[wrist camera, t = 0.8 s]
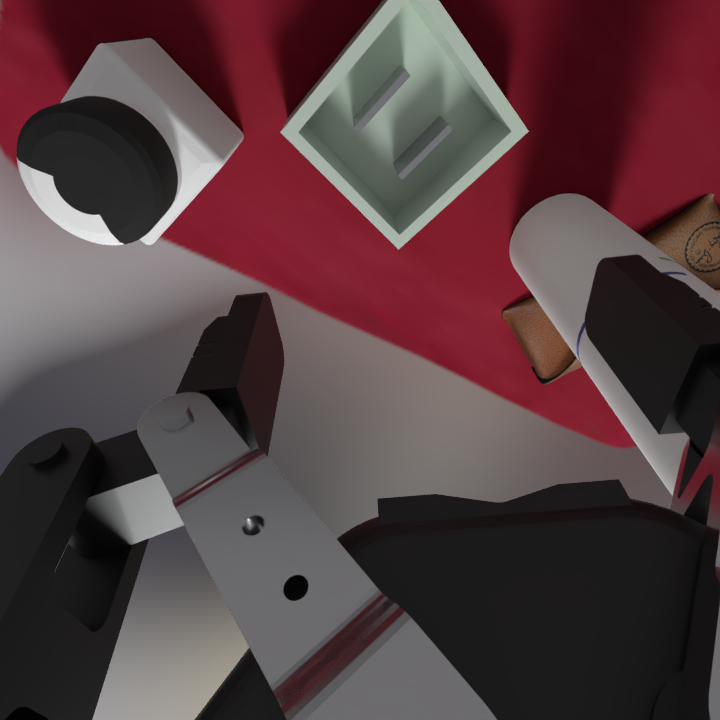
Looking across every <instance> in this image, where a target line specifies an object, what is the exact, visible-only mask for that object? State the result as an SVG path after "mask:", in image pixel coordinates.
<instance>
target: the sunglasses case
mask: <svg viewBox="0 0 720 720" xmlns="http://www.w3.org/2000/svg"><path fill="white" fill-rule="evenodd" d="M713 196H714V193H710V194H707V195H705V196H703V197H701V198H700V199H698V200H697V201H695V202H694V203H692V204H691V205H689V206H688V207H687V208H685V209H684V210H682V211H681V212H679V213H678V214H677V215H675V216H674V217H672V218H671V219H669V220H668V221H666V222H664V223H663V224H661V225H660V226H658V227H656V228H655V229H653V230H651V231H650V232H648V233H646V234H645V235H643V236H642V237H643V238H644V239H646V240H647V241H648V242H650V243H651V244H652V245H654V246H655V247H657V248H658V249H659V250H661V251H662V252H663V253H665V254H666V255H667V256H669V257H670V258H672V259H673V260H674V261H676V262H677V263H678V264H680V265H681V266H682V267H684V268H685V269H687V270H688V271H689V272H691V273H692V274H693V275H695V276H696V277H698V278H699V279H700V280H702V281H703V282H704V283H706V284H707V285H708V286H710V287H711V288H713V289H714V290H715V291H717V292H718V293H719V294H720V211H719V209H718V206H717V205H716V203H715V202H714V200H713ZM502 317H503V318H504V319H505V320H506V321H507V322H508V323H509V325H510V327H511V329H512V331H513V333H514V334H515V336H516V338H517V340H518V341H519V344H520V345H521V347H522V349H523V350H524V352H525V354H526V355H527V357H528V359H529V361H530V362H531V363H532V365H533V367H531V368H532V370H533V372H534V373H535V375H536V376H537V378H538V380H539V381H540V383H542V384H544V385H545V384H549V383H551V382H553V381H555V380H556V379H558V378H560V377H561V376H563V375H565V374H567V373H569V372H572V371H574V370H576V369H578V368H581V367H583V366H582V364H581V363H580V362H579V360H578V359H577V357H576V356H575V354H574V353H573V352H572V350H571V349H570V347H569V346H568V344H567V343H566V342H565V340H564V339H563V337H562V336H561V334H560V333H559V332H558V330H557V329H556V327H555V326H554V324H553V323H552V322H551V320H550V319H549V317H548V316H547V314H546V313H545V311H544V310H543V309H542V307H541V306H540V304H539V303H538V301H537V300H536V298H535V297H534V296H532V297H531V298H528V299H527V300H524V301H522V302H519V303H516V304H514V305H512V306H510V307H508V308H506V309H505V310H503V311H502Z"/></svg>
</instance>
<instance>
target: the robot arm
mask: <svg viewBox="0 0 720 720" xmlns="http://www.w3.org/2000/svg"><path fill="white" fill-rule="evenodd" d="M585 329H586V333H587V336H588V338H589V339H590V341H591V342H592V344H593V345H594V346H595V348H596V349H597V350H598V352H599V353H600V355H601V356H602V357H603V359H604V360H605V361H606V363H607V364H608V366H609V367H610V368H611V370H612V371H613V372H614V374H615V375H616V376H617V378H618V379H619V381H620V382H621V383H622V385H623V386H624V387H625V389H626V390H627V392H628V393H629V394H630V396H631V397H632V398H633V400H634V401H635V403H636V404H637V405H638V407H639V408H640V409H641V411H642V412H643V414H644V415H645V416H646V418H647V419H648V420H649V422H650V423H651V424H652V426H653V427H654V429H655V430H656V431H657V433H658V434H659V435H661V434H673V433H686V434H687V435H688V437H689V439H688V441H687V443H686V445H685V447H684V449H683V453H682V457H681V462H680V466H679V470H678V475H677V479H676V483H675V488H674V492H673V496H672V501H671V505H670V509H667V508H664V507H660V506H658V505H655V504H652V503H647V502H643V501H639V500H635V499H630V498H629V496H628V495H627V493H626V491H625V489H624V488H623V486H622V484H621V483H620V481H619V480H606V481H594V482H581V483H568V484H558V485H555V486H552V487H549V488H546V489H543V490H540V491H537V492H534V493H531V494H528V495H525V496H522V497H519V498H516V499H513V500H510V501H507V502H503V503H495V502H487V501H480V500H473V499H466V498H459V497H452V496H445V495H437V494H431V495H419V496H407V497H394V498H381V499H378V513H379V517H376V518H373V519H370V520H368V521H366V522H363V523H361V524H360V525H357V526H355V527H354V528H352V529H350V530H349V531H347V532H346V533H344V534H342V535H341V536H340V537H339V538H337V539H336V538H335V537H334V535H333V534H332V533H331V532H330V531H329V530H328V529H327V527H326V526H325V525H324V524H323V523H322V521H321V520H320V519H319V518H318V516H317V515H316V514H315V513H314V512H313V511H312V509H311V508H310V507H309V506H308V505H307V503H306V502H305V501H304V500H303V499H302V497H301V496H300V495H299V494H298V493H297V491H296V490H295V489H294V488H293V487H292V485H291V484H290V483H289V482H288V481H287V479H286V478H285V477H284V476H283V475H282V473H281V472H280V471H279V470H278V469H277V468H276V466H275V465H274V464H273V463H272V462H271V460H270V459H269V458H268V451H269V446H270V440H271V435H272V429H273V424H274V418H275V413H276V407H277V401H278V396H279V391H280V385H281V379H282V374H283V368H284V351H283V345H282V341H281V337H280V333H279V329H278V326H277V322H276V318H275V314H274V311H273V307H272V303H271V300H270V297H269V295H268V293H266V292H263V293H255V294H244V295H237V296H236V297H235V299H234V301H233V304H232V307H231V309H230V312H229V314H228V316H223V317H217V318H216V319H215V320H214V321H213V322H212V323H211V324H210V325H209V326H208V327H207V328H206V329H205V330H204V332H203V334H202V336H201V338H200V341H199V343H198V346H197V347H196V349H195V352H194V354H193V358H191V361H190V363H189V365H188V367H187V370H186V372H185V374H184V376H183V378H182V381H181V383H180V385H179V387H178V389H177V392H176V394H175V395H172V396H169V397H167V398H165V399H163V400H161V401H159V402H157V403H156V404H154V405H153V406H152V407H151V408H149V409H148V410H147V411H146V412H145V413H144V415H143V416H142V417H141V419H140V421H139V423H138V427H137V430H134V431H132V432H129V433H125V434H122V435H119V436H117V437H113V438H110V439H107V440H104V441H101V442H98V443H95V442H94V441H93V439H92V438H91V436H90V435H89V434H88V433H87V432H86V431H85V430H83V429H80V428H64V429H59V430H56V431H52V432H50V433H47V434H45V435H43V436H41V437H39V438H37V439H35V440H34V441H32V442H31V443H29V444H28V445H27V446H25V447H24V448H23V449H22V450H20V451H19V452H18V453H17V454H16V455H15V457H14V458H13V459H12V460H11V462H10V463H9V465H8V466H7V467H6V469H5V471H4V472H3V473H2V475H1V476H0V720H92V718H93V715H94V712H95V709H96V706H97V703H98V699H99V696H100V693H101V690H102V686H103V683H104V680H105V677H106V674H107V671H108V667H109V664H110V661H111V658H112V655H113V652H114V648H115V645H116V642H117V639H118V636H119V632H120V629H121V626H122V623H123V620H124V617H125V613H126V610H127V607H128V604H129V601H130V597H131V594H132V591H133V588H134V585H135V582H136V578H137V575H138V572H139V569H140V566H141V562H142V559H143V556H144V553H145V550H146V547H147V543H148V540H149V538H151V537H153V536H156V535H159V534H161V533H164V532H167V531H170V530H172V529H175V528H177V527H180V526H183V525H184V526H185V527H186V529H187V531H188V533H189V535H190V537H191V538H192V541H193V542H194V544H195V546H196V548H197V550H198V552H199V554H200V556H201V557H202V559H203V561H204V563H205V565H206V566H207V569H208V570H209V572H210V574H211V576H212V578H213V580H214V582H215V584H216V585H217V587H218V589H219V591H220V593H221V595H222V597H223V599H224V600H225V602H226V604H227V606H228V608H229V610H230V612H231V613H232V615H233V617H234V619H235V621H236V623H237V625H238V627H239V629H240V630H241V632H242V634H243V636H244V638H245V640H246V642H247V644H248V645H249V649H248V650H247V651H246V653H245V654H244V656H243V657H242V658H241V659H240V661H239V662H238V663H237V665H236V666H235V667H234V669H233V670H232V671H231V673H230V674H229V675H228V676H227V678H226V679H225V681H224V682H223V683H222V685H221V686H220V687H219V688H218V690H217V691H216V692H215V694H214V695H213V696H212V698H211V699H210V700H209V702H208V703H207V704H206V706H205V707H204V708H203V710H202V711H201V713H199V715H198V716H197V717H196V719H195V720H720V311H719V310H718V309H717V308H712V304H710V303H709V302H708V301H707V300H705V299H704V298H703V297H699V294H698V293H697V292H696V291H694V290H693V289H692V288H691V287H689V286H688V285H687V284H686V283H685V282H682V281H680V280H678V279H676V278H673V277H671V276H669V275H666V274H664V273H661V272H660V271H659V270H657V269H656V268H655V267H654V266H653V265H651V264H650V263H649V262H648V261H647V260H645V259H644V258H643V257H642V256H640V255H626V256H617V257H607V258H603V259H601V260H600V262H599V263H598V265H597V268H596V272H595V276H594V280H593V284H592V288H591V292H590V297H589V301H588V305H587V309H586V313H585ZM67 543H68V545H67ZM66 545H67V547H66ZM65 547H66V549H65ZM64 550H65V552H64ZM63 552H64V554H63ZM62 554H63V556H62ZM61 556H62V558H61ZM60 558H61V560H60ZM59 560H60V562H59ZM58 562H59V564H58ZM57 564H58V567H57ZM56 567H57V569H56ZM55 569H56V571H55ZM54 572H55V573H54Z"/></svg>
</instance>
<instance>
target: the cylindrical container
mask: <svg viewBox="0 0 720 720" xmlns="http://www.w3.org/2000/svg"><path fill="white" fill-rule="evenodd" d="M509 253H510V259H511V262H512V264H513V266H514V268H515V269H516V271H517V272H518V274H519V275H520V277H521V278H522V280H523V281H524V282H525V284H526V285H527V287H528V288H529V290H530V291H531V293H532V294H533V296H534V297H535V298H536V300H537V301H538V303H539V304H540V306H541V307H542V309H543V310H544V311H545V313H546V314H547V316H548V317H549V319H550V320H551V322H552V323H553V324H554V326H555V327H556V329H557V330H558V332H559V333H560V334H561V336H562V337H563V339H564V340H565V342H566V343H567V344H568V346H569V347H570V349H571V350H572V352H573V353H574V354H575V356H576V357H577V359H578V360H579V362H580V363H581V364H582V366H583V367H584V369H585V370H586V372H587V373H588V375H589V376H590V378H591V379H592V380H593V382H594V383H595V385H596V386H597V388H598V389H599V391H600V392H601V394H602V395H603V396H604V398H605V399H606V401H607V402H608V404H609V405H610V407H611V408H612V409H613V411H614V412H615V414H616V415H617V417H618V418H619V420H620V421H621V423H622V424H623V425H624V427H625V428H626V430H627V431H628V433H629V434H630V436H631V437H632V438H633V440H634V441H635V443H636V444H637V446H638V447H639V449H640V450H641V451H642V453H643V454H644V456H645V457H646V459H647V460H648V461H649V463H650V464H651V466H652V467H653V469H654V470H655V471H656V473H657V474H658V476H659V477H660V479H661V480H662V482H663V483H664V485H665V486H666V487H667V489H668V490H669V491H670V493H671V495H672V496H673V492H674V488H675V483H676V479H677V475H678V470H679V466H680V462H681V457H682V453H683V449H684V447H685V445H686V443H687V441H688V439H689V437H688V435H687V434H686V433H673V434H661V435H659V434H658V433H657V431H656V430H655V429H654V427H653V426H652V424H651V423H650V422H649V420H648V419H647V418H646V416H645V415H644V414H643V412H642V411H641V409H640V408H639V407H638V405H637V404H636V403H635V401H634V400H633V398H632V397H631V396H630V394H629V393H628V392H627V390H626V389H625V387H624V386H623V385H622V383H621V382H620V381H619V379H618V378H617V376H616V375H615V374H614V372H613V371H612V370H611V368H610V367H609V366H608V364H607V363H606V361H605V360H604V359H603V357H602V356H601V355H600V353H599V352H598V350H597V349H596V348H595V346H594V345H593V344H592V342H591V341H590V339H589V338H588V336H587V333H586V329H585V313H586V309H587V305H588V301H589V297H590V292H591V288H592V284H593V280H594V276H595V272H596V268H597V265H598V263H599V262H600V260H601V259H603V258H607V257H617V256H626V255H640V256H642V257H643V258H644V259H645V260H647V261H648V262H649V263H650V264H651V265H653V266H654V267H655V268H656V269H657V270H659V271H660V272H661V273H664V274H666V275H669V276H671V277H673V278H676V279H678V280H680V281H682V282H685V283H686V284H687V285H688V286H689V287H691V288H692V289H693V290H694V291H696V292H697V293H698V294H699V297H703V298H704V299H705V300H707V301H708V302H709V303H710V304H712V308H717V309H718V310H719V311H720V294H719V293H718V292H717V291H715V290H714V289H713V288H711V287H710V286H708V285H707V284H706V283H704V282H703V281H702V280H700V279H699V278H698V277H696V276H695V275H693V274H692V273H691V272H689V271H688V270H687V269H685V268H684V267H682V266H681V265H680V264H678V263H677V262H676V261H674V260H673V259H672V258H670V257H669V256H667V255H666V254H665V253H663V252H662V251H661V250H659V249H658V248H657V247H655V246H654V245H652V244H651V243H650V242H648V241H647V240H646V239H644V238H643V237H642V236H640V235H639V234H637V233H636V232H635V231H633V230H632V229H631V228H629V227H628V226H627V225H625V224H624V223H622V222H621V221H620V220H618V219H617V218H616V217H614V216H613V215H612V214H610V213H609V212H608V211H606V210H605V209H603V208H602V207H601V206H599V205H598V204H597V203H595V202H594V201H593V200H591V199H589V198H587V197H585V196H583V195H579V194H570V193H566V194H559V195H556V196H552V197H549V198H547V199H545V200H543V201H541V202H539V203H538V204H536V205H535V206H534V207H532V208H531V209H530V210H529V211H528V212H527V213H526V214H525V215H524V216H523V217H522V218H521V220H520V221H519V223H518V224H517V226H516V227H515V229H514V232H513V234H512V237H511V240H510V247H509Z"/></svg>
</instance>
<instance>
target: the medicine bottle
mask: <svg viewBox="0 0 720 720" xmlns="http://www.w3.org/2000/svg"><path fill="white" fill-rule="evenodd" d="M243 138H244V135H243V133H242V131H241V130H240V129H239V128H238V127H237V126H236V125H235V124H234V123H233V122H232V121H231V120H230V119H229V118H228V117H227V116H226V115H225V114H224V113H223V112H222V110H221V109H220V108H219V107H218V106H217V105H216V104H215V103H214V102H213V101H212V100H211V99H210V98H209V97H208V96H207V95H206V94H205V93H204V92H203V91H202V90H201V89H200V87H199V86H198V85H197V84H196V83H195V82H194V81H193V80H192V79H191V78H190V77H189V76H188V75H187V74H186V73H185V72H184V71H183V70H182V69H181V68H180V67H179V66H178V65H177V63H176V62H175V61H174V60H173V59H172V58H171V57H170V56H169V55H168V54H167V53H166V52H165V51H164V50H163V49H162V48H161V47H160V46H159V45H158V44H157V43H156V42H155V41H154V40H153V39H152V38H141V39H133V40H124V41H115V42H107V43H100V44H99V45H97V47H96V48H95V50H94V52H93V53H92V55H91V56H90V58H89V59H88V61H87V62H86V64H85V65H84V67H83V68H82V70H81V72H80V73H79V75H78V76H77V78H76V79H75V81H74V82H73V84H72V85H71V87H70V88H69V90H68V92H67V93H66V95H65V96H64V98H63V99H62V101H61V102H60V103H59V104H56V105H53V106H50V107H47V108H45V109H42V110H40V111H38V112H37V113H35V114H34V115H32V116H31V117H30V118H29V119H28V120H27V121H26V123H25V124H24V126H23V128H22V129H21V132H20V134H19V137H18V142H17V162H18V168H19V171H20V175H21V177H22V180H23V182H24V184H25V187H26V188H27V190H28V192H29V193H30V195H31V197H32V198H33V200H34V201H35V202H36V204H37V205H38V206H39V207H40V208H41V210H43V212H44V213H45V214H46V215H47V216H49V218H50V219H52V220H53V221H54V222H55V223H57V224H58V225H59V226H60V227H62V228H63V229H65V230H67V231H68V232H70V233H72V234H74V235H76V236H78V237H80V238H82V239H85V240H88V241H90V242H94V243H98V244H104V245H122V244H128V243H131V242H134V241H136V240H141V241H142V242H144V243H145V244H147V245H151V244H153V243H155V241H156V240H157V239H158V238H159V237H160V236H161V235H162V234H163V232H164V231H165V230H166V229H167V228H168V227H169V226H170V225H171V224H172V222H173V221H174V220H175V219H176V218H177V217H178V216H179V215H180V213H181V212H182V211H183V210H184V209H185V208H186V207H187V206H188V205H189V203H190V202H191V201H192V200H193V199H194V198H195V197H196V196H197V194H198V193H199V192H200V191H201V190H202V189H203V188H204V187H205V186H206V184H207V183H208V182H209V181H210V180H211V179H212V178H213V177H214V175H215V174H216V173H217V172H218V171H219V170H220V169H221V168H222V166H223V165H224V164H225V163H226V161H227V160H228V159H229V157H230V156H231V155H232V153H233V152H234V151H235V150H236V148H237V147H238V146H239V144H240V143H241V142H242V140H243Z"/></svg>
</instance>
